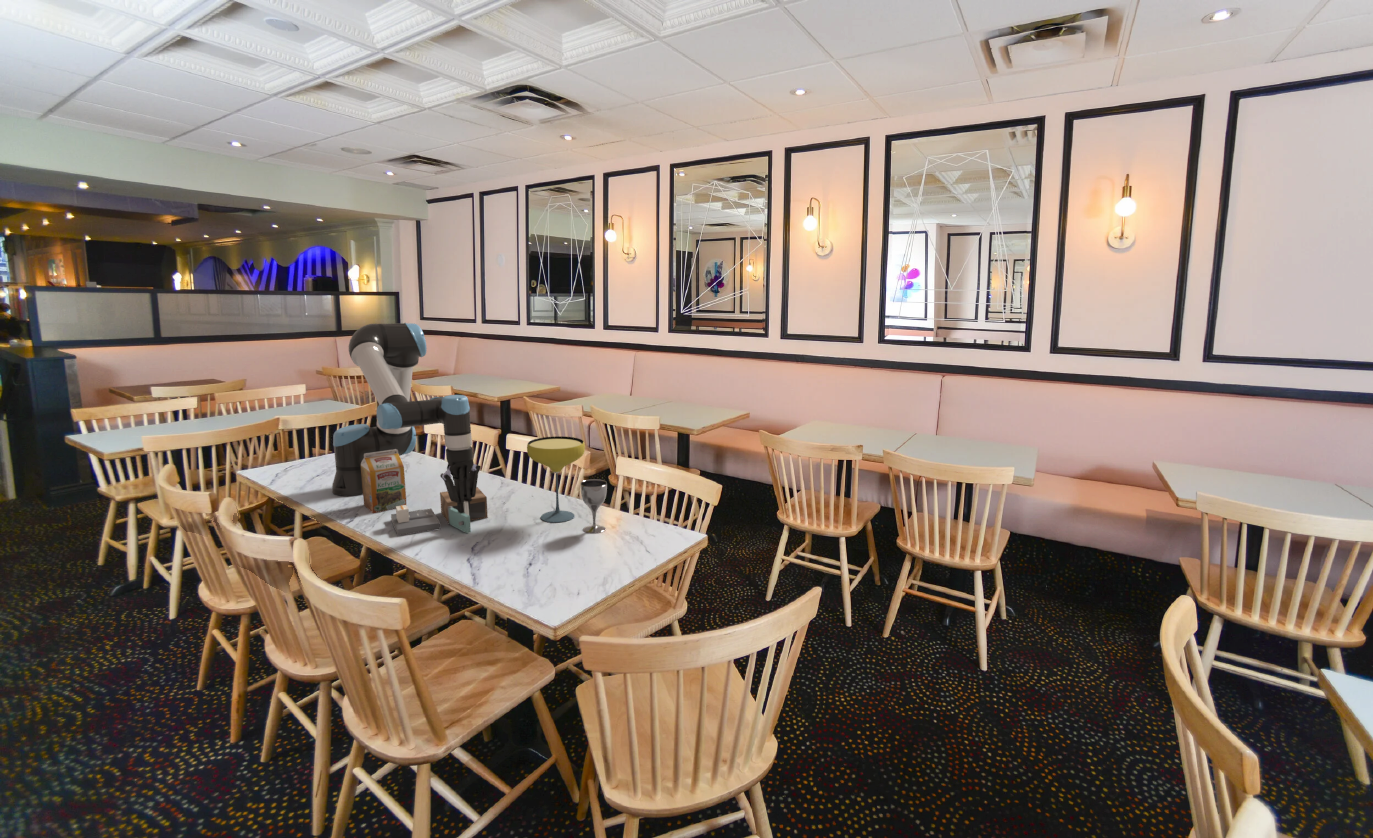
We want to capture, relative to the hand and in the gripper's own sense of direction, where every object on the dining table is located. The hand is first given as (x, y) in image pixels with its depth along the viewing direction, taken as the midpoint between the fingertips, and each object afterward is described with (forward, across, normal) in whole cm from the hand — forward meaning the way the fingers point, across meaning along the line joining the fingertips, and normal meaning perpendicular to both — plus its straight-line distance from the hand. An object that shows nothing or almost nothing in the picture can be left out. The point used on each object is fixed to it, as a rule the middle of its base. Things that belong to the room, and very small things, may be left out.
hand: (465, 521), depth 193 cm
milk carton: (+2, +2, -39) cm, 39 cm away
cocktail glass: (+3, -24, +15) cm, 29 cm away
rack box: (+3, -7, -10) cm, 13 cm away
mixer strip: (+2, +7, -15) cm, 17 cm away
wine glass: (+4, -23, +32) cm, 40 cm away
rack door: (+2, +2, -1) cm, 3 cm away
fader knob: (0, +10, -17) cm, 20 cm away
